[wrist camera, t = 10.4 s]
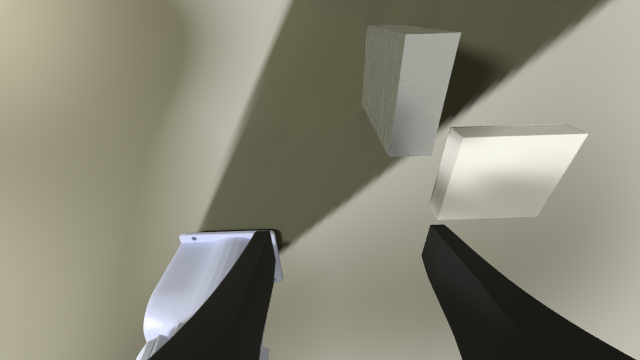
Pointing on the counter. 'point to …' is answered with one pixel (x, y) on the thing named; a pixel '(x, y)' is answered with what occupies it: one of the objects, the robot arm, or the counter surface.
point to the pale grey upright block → (407, 84)
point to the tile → (502, 170)
